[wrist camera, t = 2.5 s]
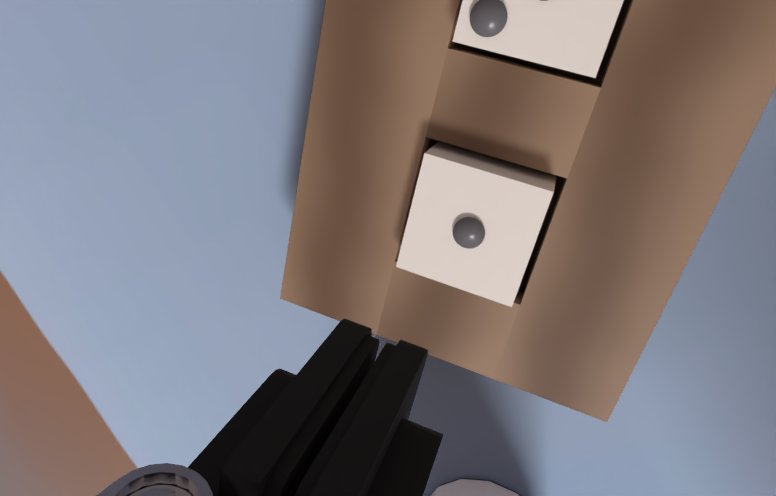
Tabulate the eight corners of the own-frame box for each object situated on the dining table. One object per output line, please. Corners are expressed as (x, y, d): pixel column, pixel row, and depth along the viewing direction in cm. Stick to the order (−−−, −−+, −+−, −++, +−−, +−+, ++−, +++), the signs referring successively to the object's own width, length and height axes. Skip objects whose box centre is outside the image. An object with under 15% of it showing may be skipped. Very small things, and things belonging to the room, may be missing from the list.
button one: (557, 171, 20) (553, 193, 18) (519, 276, 22) (511, 309, 19) (442, 138, 21) (423, 154, 18) (416, 241, 23) (394, 268, 20)
